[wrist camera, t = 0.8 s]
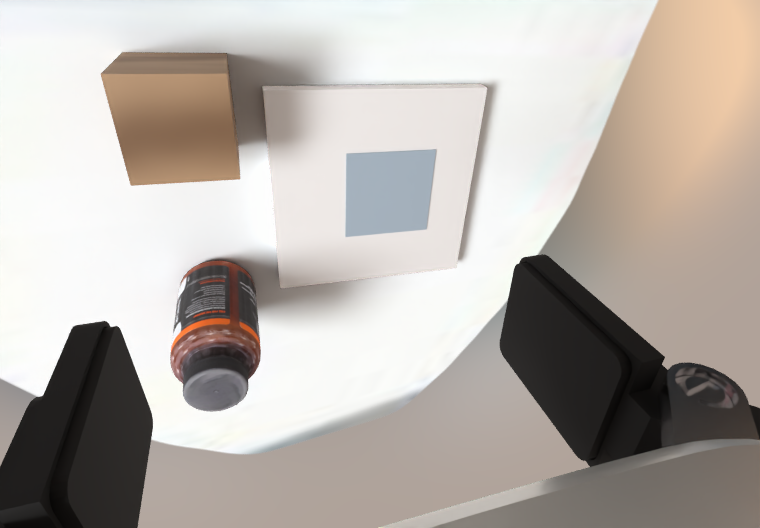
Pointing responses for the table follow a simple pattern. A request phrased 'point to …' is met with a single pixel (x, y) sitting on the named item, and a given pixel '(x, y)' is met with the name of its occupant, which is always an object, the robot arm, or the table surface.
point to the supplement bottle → (215, 335)
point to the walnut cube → (173, 116)
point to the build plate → (369, 177)
